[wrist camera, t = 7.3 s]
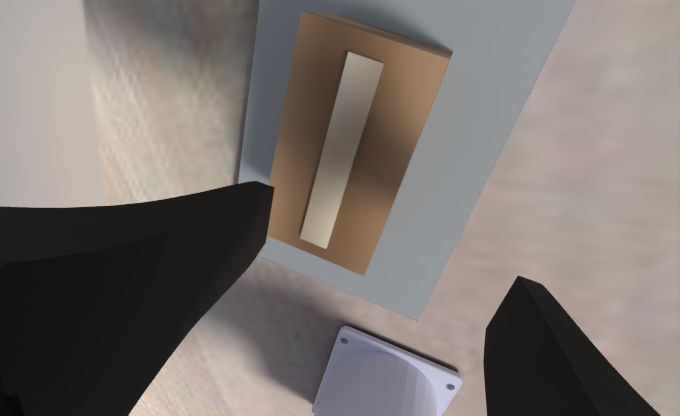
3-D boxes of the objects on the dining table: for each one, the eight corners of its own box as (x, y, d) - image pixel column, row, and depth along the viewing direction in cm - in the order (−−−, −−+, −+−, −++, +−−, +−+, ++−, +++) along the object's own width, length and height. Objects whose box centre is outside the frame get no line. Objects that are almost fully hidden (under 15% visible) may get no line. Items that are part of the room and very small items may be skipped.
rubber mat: (419, 312, 22) (417, 321, 21) (237, 238, 23) (230, 244, 23) (596, -50, 13) (603, -55, 12) (284, -126, 15) (275, -133, 14)
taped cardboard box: (453, 51, 15) (449, 59, 11) (382, 231, 19) (363, 279, 16) (338, 14, 15) (299, 10, 12) (295, 197, 20) (257, 234, 16)
